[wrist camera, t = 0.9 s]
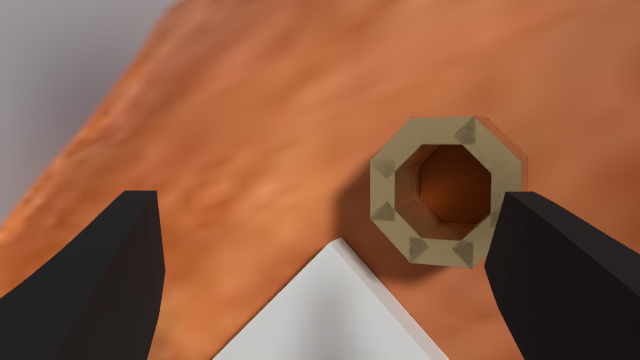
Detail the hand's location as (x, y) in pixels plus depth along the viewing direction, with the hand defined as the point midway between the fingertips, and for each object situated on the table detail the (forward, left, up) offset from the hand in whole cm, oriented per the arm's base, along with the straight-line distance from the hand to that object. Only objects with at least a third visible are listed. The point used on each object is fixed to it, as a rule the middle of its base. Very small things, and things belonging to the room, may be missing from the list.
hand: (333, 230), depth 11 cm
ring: (0, 0, -14) cm, 14 cm away
